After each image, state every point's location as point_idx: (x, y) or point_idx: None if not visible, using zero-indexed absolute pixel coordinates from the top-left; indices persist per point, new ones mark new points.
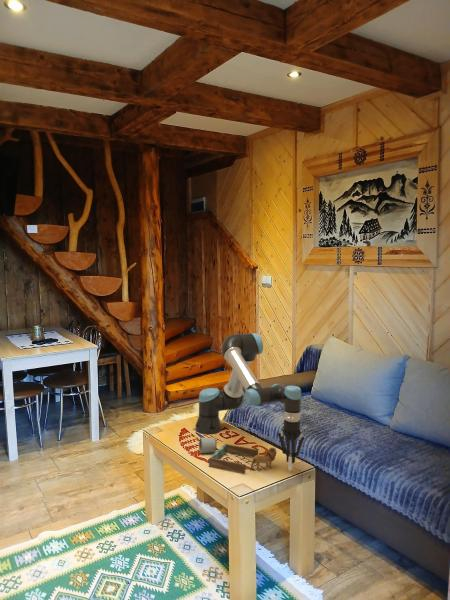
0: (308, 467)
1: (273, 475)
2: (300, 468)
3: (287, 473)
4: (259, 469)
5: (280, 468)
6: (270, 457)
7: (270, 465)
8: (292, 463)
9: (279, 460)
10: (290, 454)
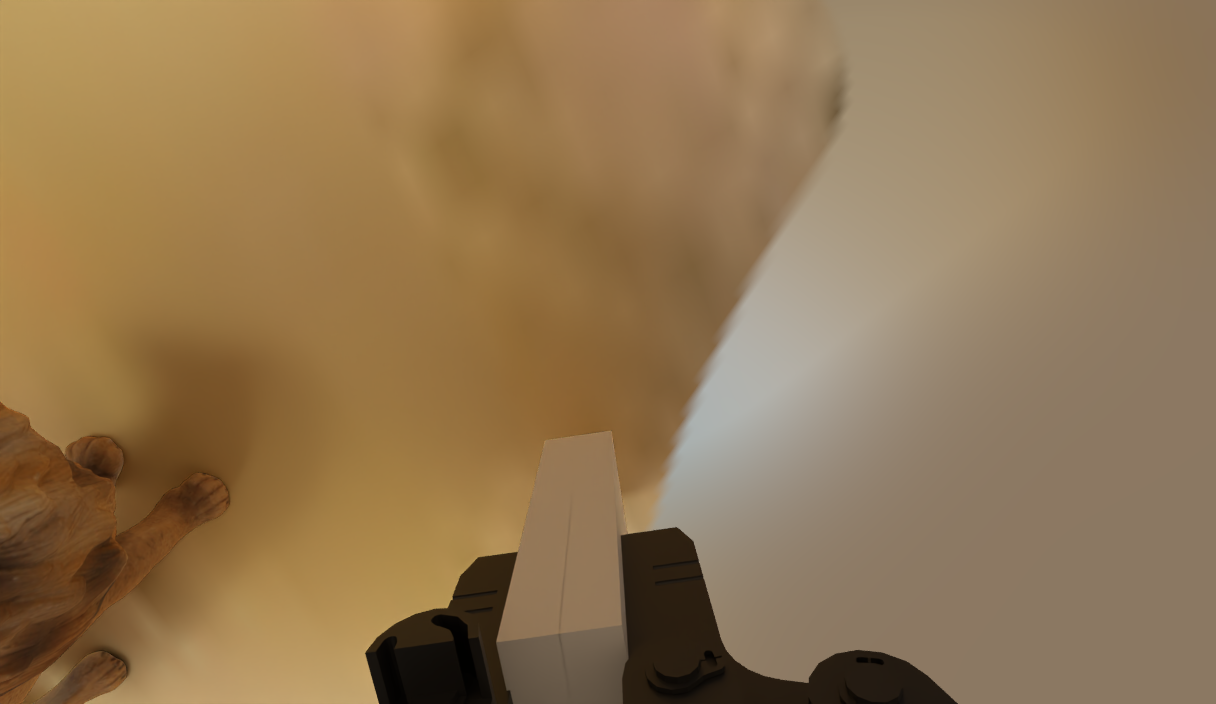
0: (818, 21)
1: None
2: (685, 174)
3: None
4: (93, 693)
5: (353, 402)
6: (5, 693)
7: (168, 551)
8: (620, 523)
9: (121, 44)
10: (516, 650)
